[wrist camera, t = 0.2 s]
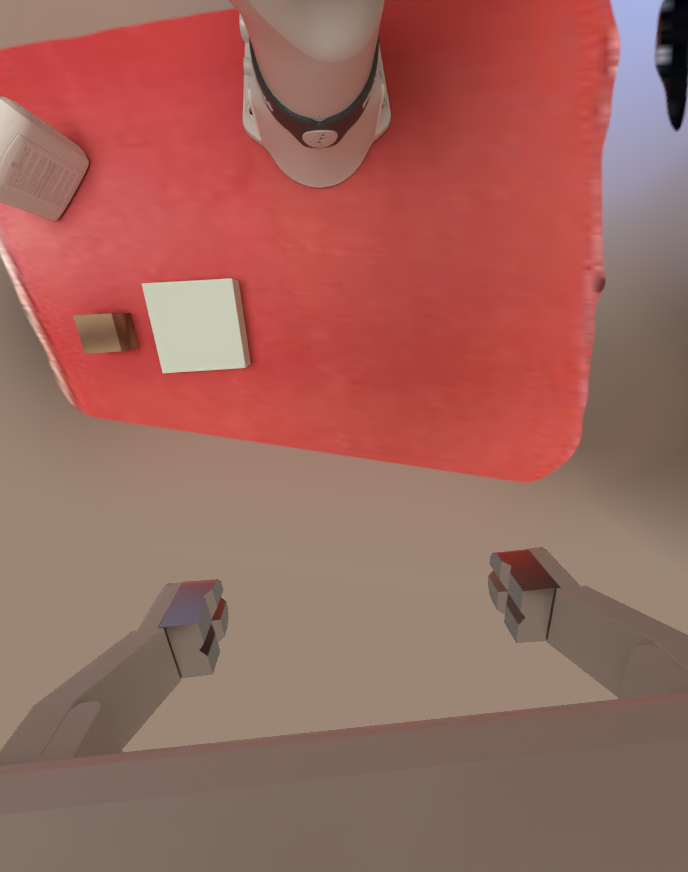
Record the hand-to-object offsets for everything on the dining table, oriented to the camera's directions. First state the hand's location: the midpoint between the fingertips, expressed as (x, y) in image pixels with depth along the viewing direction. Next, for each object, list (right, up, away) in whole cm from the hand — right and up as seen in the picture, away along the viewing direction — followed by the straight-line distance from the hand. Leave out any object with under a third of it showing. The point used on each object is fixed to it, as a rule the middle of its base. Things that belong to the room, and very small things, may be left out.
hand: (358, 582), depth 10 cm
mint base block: (-21, +21, +42) cm, 51 cm away
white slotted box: (-37, +38, +35) cm, 64 cm away
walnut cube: (-34, +20, +42) cm, 58 cm away
